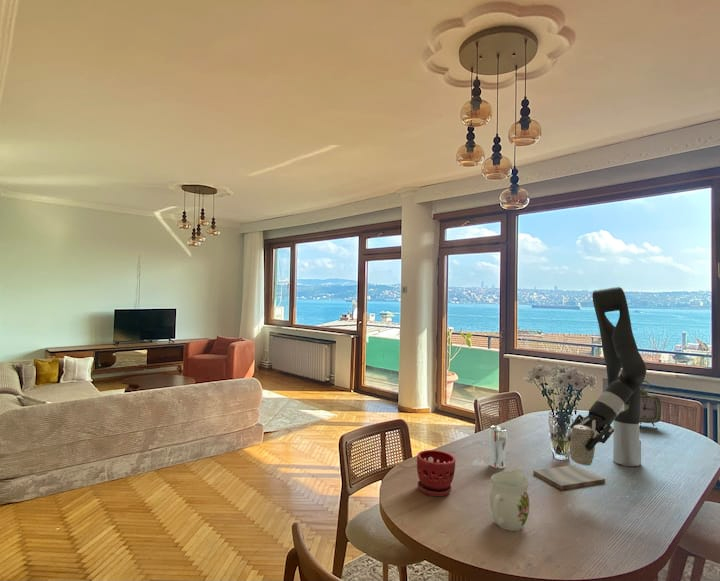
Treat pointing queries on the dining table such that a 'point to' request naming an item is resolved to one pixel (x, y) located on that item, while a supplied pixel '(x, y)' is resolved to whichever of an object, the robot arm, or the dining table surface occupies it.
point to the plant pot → (435, 472)
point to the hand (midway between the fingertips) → (578, 445)
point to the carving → (581, 445)
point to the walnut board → (568, 477)
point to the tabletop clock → (648, 407)
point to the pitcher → (509, 499)
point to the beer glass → (498, 446)
